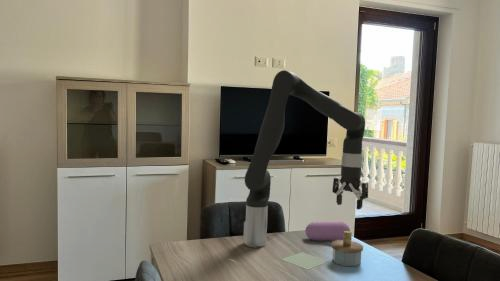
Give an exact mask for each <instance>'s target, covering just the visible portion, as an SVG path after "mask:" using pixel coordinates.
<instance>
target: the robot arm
mask: <svg viewBox="0 0 500 281" xmlns="http://www.w3.org/2000/svg"><path fill="white" fill-rule="evenodd" d="M269 95H270V96H269V101H268V105H267V107H266V110H265V114H264V117H263V121H262V123H261V125H260V129H259V134H258V137H257V140H256V144H255V147H254V152H253V155H252V158H251V160H250V163H249V166H248V168H247V170H246V173H245V174H244V185H245V186H246V188H247V189H248V191H249V192H248V195H247V198H246V199H245V200H246V202H245V221H243V240H242V241H243V244H244V245H245V246H246V247H249V248H254V249H255V248H256V249H258V248H264V247H266V246H267V233H268V232H267V230H268V208H269V206H268V205H269V200H270V194H271V174H270V172H269V170H268V166H269V164H270V160H271V158H273V155H274V153H275V152H276V150H277V148H278V146H279V144H280V142H281V139H282V135H283V133H284V129H285V124H286V122H285V119H286V118H285V110H286V105H287V102H288V99H289V97H290V96H293V97H296V98H297V99H301V100H302V101H304V102H306V103H307V105H308V104H309V106H311V107H312V108H313V109H314V110H316V112H319V113H320V114H321V115H324V116H325V117H327V118H329V119H330V120H333V121H334V122H335V123H336V124H338V125H339V126H340V127H341V128H343V129H344V130H346V133H345V137H344V139H343V144H342V156H341V164H340V166H341V167H340V177H339V176H338V177H334V178H333V181H332V182H333V183H332V193H333V194H335V195H336V200H335V202H336V204H337V205H338V206H341V205H342V204H343V193H344V192H349V193H353V194H354V195H355V196H356V206H355V208H356V210H361V209H362V208H363V205H364V204H363V200H365V199H368V198H369V183H368V182H362V180H361V177H362V166H363V157H362V156H363V154H362V153H363V152H362V151H363V140H364V133H365V129H366V119H365V117H364V115H363V114H362V113H359V112H354V111H352V110H350V109H348V108H347V107H345V106H344V105H343V104H342V103H341V102H339V101H338V100H336V99H334V98H332V97H331V96H329V95H326V94H325V93H323V92H321V91H319V90H317V89H316V88H314V87H312V86H311V85H309V84H308V83H307V82H305V81H304V80H303V79H302V78H301V77H300V76H298V74H296V73H295V72H293V71H290V70H286V69H285V70H280V71H279V72H277V73H276V75H274V77H273V81H272V85H271V91H270V94H269ZM340 185H341V186H340Z"/></svg>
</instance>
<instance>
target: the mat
mask: <svg viewBox="0 0 500 281" xmlns="http://www.w3.org/2000/svg"><path fill="white" fill-rule="evenodd" d="M280 261H284V262H286V263H289V264H291V265H294V266H297V267H299V268H302V269H304V270H310V269H313V268H315V267H318V266H320V265H323V264H326V263H328V262H329V260H326V259H323V258H320V257H317V256H314V255H311V254H308V253H305V252H302V251H301V252H298V253H295V254H292V255H289V256H287V257H284V258H281V259H280Z"/></svg>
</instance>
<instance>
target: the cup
mask: <svg viewBox="0 0 500 281" xmlns="http://www.w3.org/2000/svg"><path fill="white" fill-rule="evenodd" d="M332 261H333V263H334V264H337V265H340V266H343V267H356V266H360V265H361V261H362V251H361V252H358V253H346V252H340V251H337V250H335V249H333V248H332Z"/></svg>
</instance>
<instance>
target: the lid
mask: <svg viewBox="0 0 500 281" xmlns="http://www.w3.org/2000/svg"><path fill="white" fill-rule="evenodd" d="M330 244H331V245H330V248H332V250H333V249H335V250H337V251H340V252H346V253H358V252H361V253H362V252H363V250H364V245H363V244H361V243H360V242H357V241H353V240H352V231H350V232H349V231H344V237H343V240H336V241H335V240H332V241H331V242H330Z"/></svg>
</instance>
